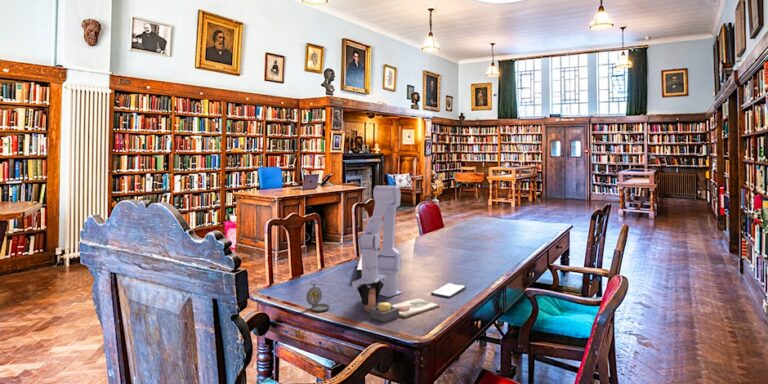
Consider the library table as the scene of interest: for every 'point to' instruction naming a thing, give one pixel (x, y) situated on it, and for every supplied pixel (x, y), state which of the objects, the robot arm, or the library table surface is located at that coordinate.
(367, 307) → the brown cylinder
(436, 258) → the library table surface
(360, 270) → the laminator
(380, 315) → the button base
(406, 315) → the colouring board
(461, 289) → the phone case
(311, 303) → the pocket watch
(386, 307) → the button
